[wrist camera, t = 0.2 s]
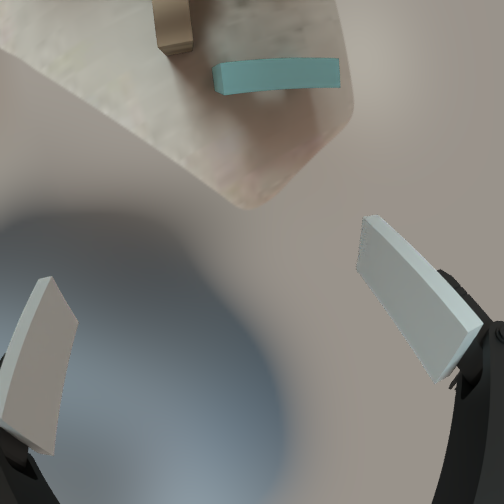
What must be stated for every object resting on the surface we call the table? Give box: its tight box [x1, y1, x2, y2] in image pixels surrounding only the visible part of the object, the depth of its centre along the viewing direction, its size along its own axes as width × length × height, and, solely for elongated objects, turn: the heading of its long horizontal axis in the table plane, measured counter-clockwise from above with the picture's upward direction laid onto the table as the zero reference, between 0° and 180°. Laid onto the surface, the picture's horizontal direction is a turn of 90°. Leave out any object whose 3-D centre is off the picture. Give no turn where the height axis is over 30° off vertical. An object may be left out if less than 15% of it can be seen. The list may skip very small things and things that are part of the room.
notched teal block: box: [212, 58, 340, 95], centre depth 27 cm, size 11×3×10 cm, turn 95°
